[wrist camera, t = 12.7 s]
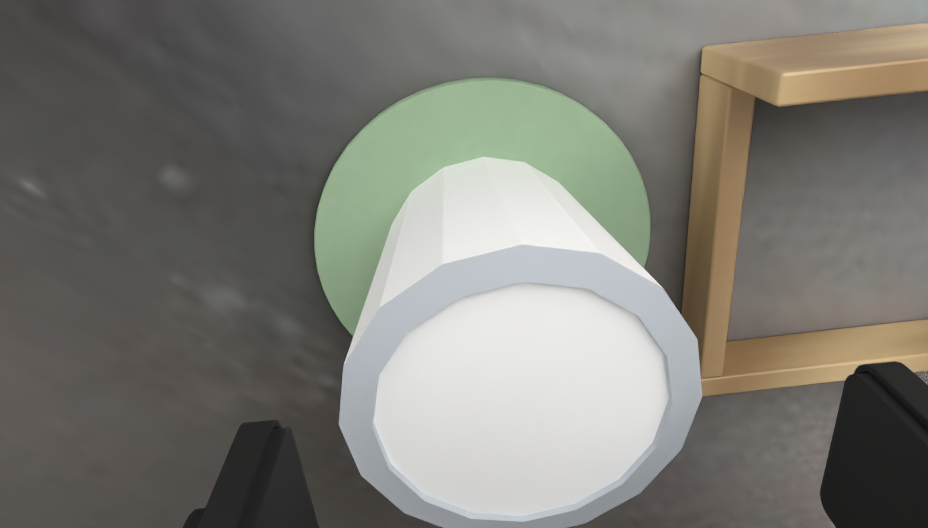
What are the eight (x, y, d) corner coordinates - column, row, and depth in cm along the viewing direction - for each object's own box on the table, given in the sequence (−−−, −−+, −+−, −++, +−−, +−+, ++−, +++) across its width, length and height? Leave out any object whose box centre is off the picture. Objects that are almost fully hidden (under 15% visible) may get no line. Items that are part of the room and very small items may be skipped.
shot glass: (636, 297, 19) (745, 469, 13) (432, 384, 20) (439, 583, 14) (554, 88, 16) (642, 177, 10) (319, 201, 17) (260, 350, 11)
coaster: (654, 58, 16) (660, 61, 16) (640, 362, 20) (644, 369, 20) (282, 97, 16) (279, 100, 16) (347, 395, 20) (346, 403, 20)
